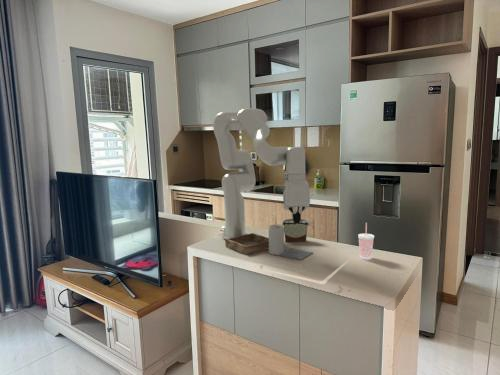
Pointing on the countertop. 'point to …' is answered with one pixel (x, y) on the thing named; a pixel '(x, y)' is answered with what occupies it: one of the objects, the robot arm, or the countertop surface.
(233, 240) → the walnut box
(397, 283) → the countertop surface
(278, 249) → the beverage can
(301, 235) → the food container
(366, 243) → the beverage cup
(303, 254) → the charcoal mat
